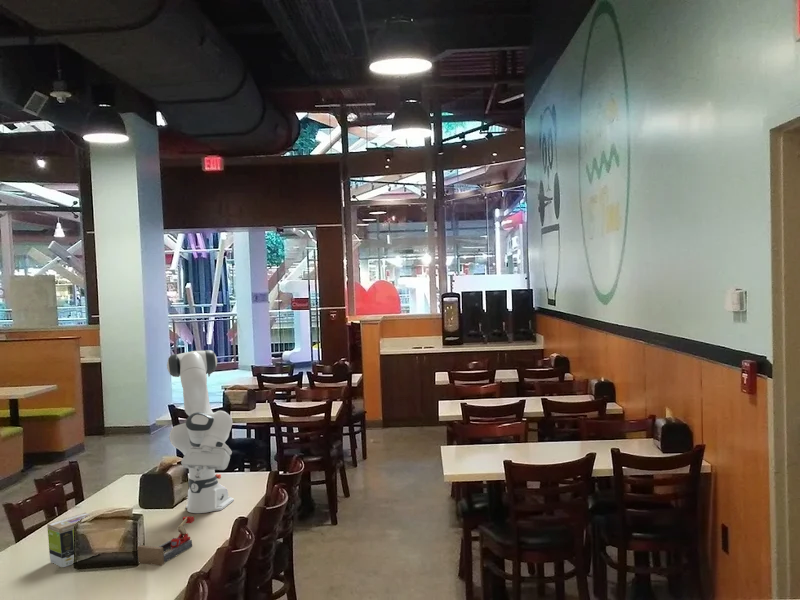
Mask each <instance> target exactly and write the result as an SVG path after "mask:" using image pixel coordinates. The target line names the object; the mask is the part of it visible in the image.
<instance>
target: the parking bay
mask: <svg viewBox="0 0 800 600" xmlns="http://www.w3.org/2000/svg"><path fill="white" fill-rule="evenodd" d="M172 539H173V538H172ZM172 539H169V540H168V541H166V542H164V543H162V544H160V545H158V546H152V545H141V544H140V545H138V546H137V557H138V556H139V562H140V563H139V562H138V563H139V564H142V565H143V564H144V565H150V566H151V565H152V566H159V567H162V566H164V565H165V563H166V562H168V561H170V560H172V559H173V558H175V557H176V555H177V556H178V555H180V554H182V553H184V552H185V551H187V550H189V549H190V548H192V547H193V540H192V539H190V540H188V541H186V542H184V543H182V544H181V545H179V546H177V547H175V548H174V549H172V550H171V540H172ZM166 550H167V551H166ZM168 550H169V551H168Z"/></svg>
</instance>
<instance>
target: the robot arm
mask: <svg viewBox="0 0 800 600" xmlns="http://www.w3.org/2000/svg"><path fill="white" fill-rule="evenodd" d="M217 365H218V357H217V355H216V353H215V352H214V350H211V349H209V350H208V349H205V350H192V351H186V352H183V353H175V354H171V355H170V356H169V357H168V359H167V364H166V369H167V371H168V373H169V375H170V376H172V377H175V378H180V383H181V387H182V389H183V390H182V393H183V394H182V396H183V407H184V408H183V409H184V413H186V415H187V416H188V417H187V418H186V420H185V423H184V422H183V423H180V424H177V425H174V426H173V427H172V428H171V429H170V432H169V434H168V435H169V441H170V444H171V446H173V447H174V448H175V449H177V450H179V451H180V452H181V453H182V454H183V455H184V456H183V458H182V459H181V461H180V463H181V465H182V467H183V468H185V469H188V473H189V474H188V481H187V482H188V487H189V488H188V490H187V504H185V508H186V509H187V510H186V511H187V512H189V513H191V514H205V513H209V512H215V511H218V512H219V511H222V510H224V508H226V507H227V506H229V505H230V504H231V503H232V502H234V501H235V498H234V497H232V496H229V492H228V491H229V490H228V488H227V487H226V486H224V485H222V484H221V483H219V480H221V478H222V474H221V473H219V474H218V473H217V474H216V471H218V470H219V471H224V470H226V469H227V468H228V466H229V463H230V459H231V456H232V453H233V451H232V449H231V448H230V447H229V445H227V444H226V441H227V440H228V439H229V437H230V432H231V429H232V426H233V423H234V422H233V418H232V416H231V415H230V414H229V412H226V411H225V410H217V411H213V410H212V408H211V403H210V398H209V396H210V395H209V391H208V385H207V384H208V383H207V382H208V380H207V378H210V376H211V374H213V373H214V372H215V370H216V369H217ZM207 375H208V377H207Z"/></svg>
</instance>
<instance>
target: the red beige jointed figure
mask: <svg viewBox="0 0 800 600" xmlns="http://www.w3.org/2000/svg"><path fill="white" fill-rule="evenodd" d="M193 522H195V516H191V515H190V516H183V517H182V522H181V523H180V524H178V526H177V529H176V530H177V531H178V532H179V535H178V536H177V537H176V538H175V537H173V538H172V540H171V539H170V540H171V548H170V550H172V549H174V548H175V547H177V546H179V545H181V544H182V543H184V542H186V541H188V540H191V537H190V536H189V534H188V533H187V532H186V530H185V528H184V526H185V525H186V524H192V523H193Z"/></svg>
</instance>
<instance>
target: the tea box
mask: <svg viewBox="0 0 800 600" xmlns="http://www.w3.org/2000/svg"><path fill="white" fill-rule="evenodd" d="M90 515H92V514H90V513H87V512H84V513H80V514H77V515H74V516H70V517H68V518H67V517H66V518H63V519H61V520H57V521H54V522H51V523H48V524H47V527H46V528H47V538H48V548H49V549H48V550H49V551H48V553H49V561H50V563H51V564H53V563H54V564H53V565H55V564H56V565H55V566H57V565H58V566H57V567H60V568H62V567H63V568H65V567H69V566H71V565H74V564H73V559H74V526H75V524H76V523H77V522H78V521H80V520H81V519H84V518H86V517H88V516H90Z"/></svg>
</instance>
